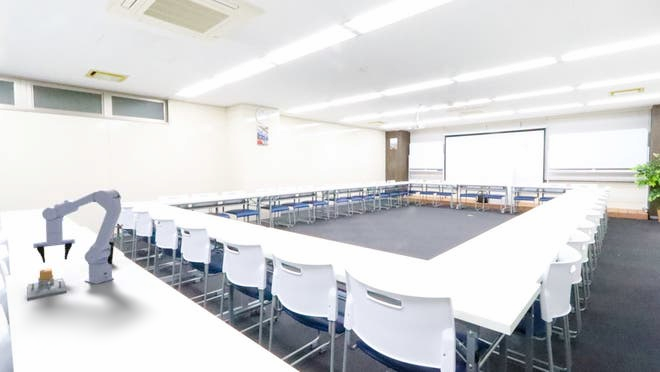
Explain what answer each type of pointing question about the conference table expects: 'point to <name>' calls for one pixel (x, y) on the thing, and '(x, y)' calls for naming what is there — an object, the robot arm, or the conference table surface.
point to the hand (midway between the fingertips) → (55, 260)
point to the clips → (45, 284)
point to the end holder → (46, 281)
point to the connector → (45, 274)
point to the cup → (111, 253)
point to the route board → (46, 289)
